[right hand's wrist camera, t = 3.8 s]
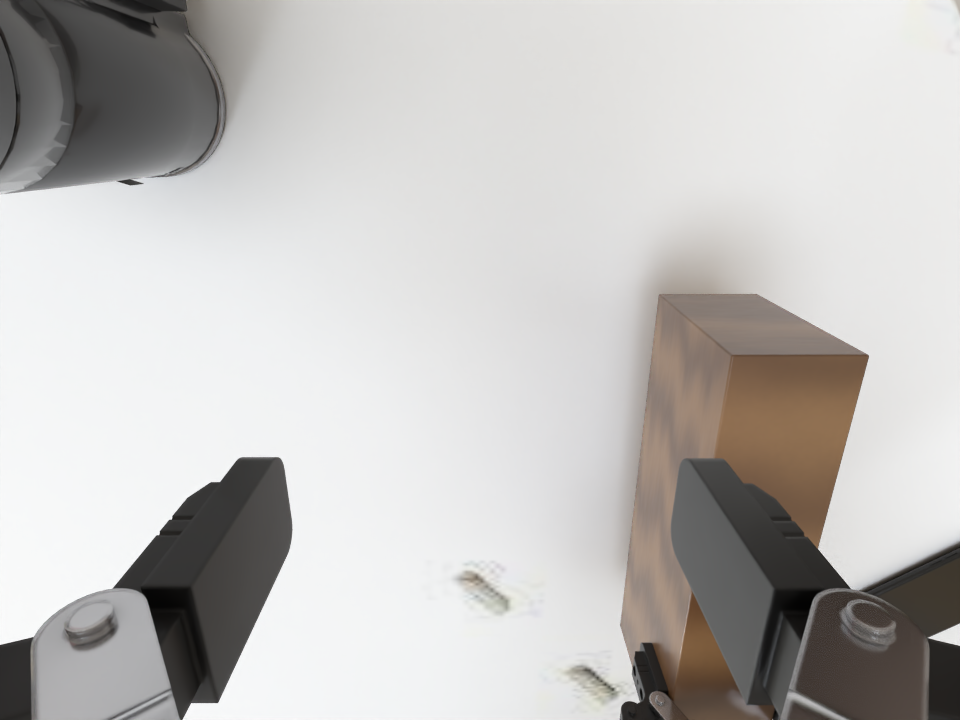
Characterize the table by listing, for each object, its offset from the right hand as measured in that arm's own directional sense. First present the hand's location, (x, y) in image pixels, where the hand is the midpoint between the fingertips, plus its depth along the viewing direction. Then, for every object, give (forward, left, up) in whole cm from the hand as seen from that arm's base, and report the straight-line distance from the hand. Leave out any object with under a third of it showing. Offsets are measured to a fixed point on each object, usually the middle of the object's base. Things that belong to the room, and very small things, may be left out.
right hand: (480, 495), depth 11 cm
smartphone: (+32, +39, -30) cm, 59 cm away
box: (+16, +14, -24) cm, 32 cm away
